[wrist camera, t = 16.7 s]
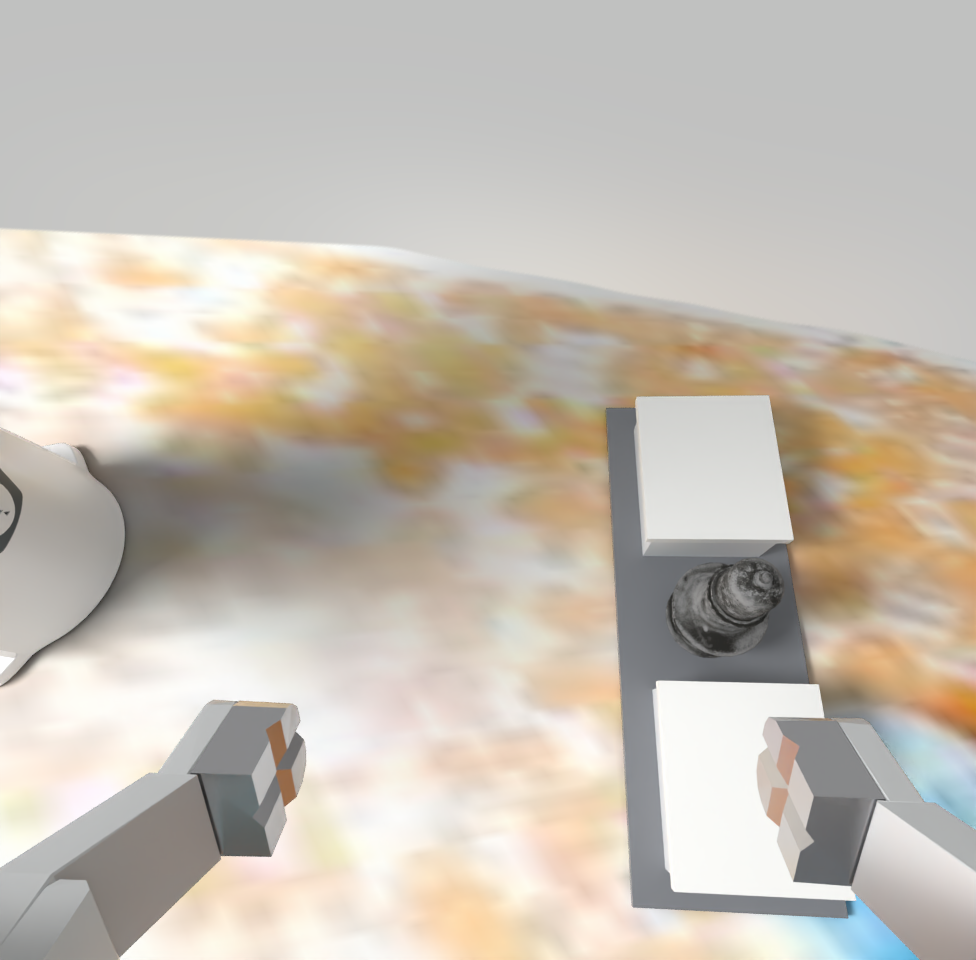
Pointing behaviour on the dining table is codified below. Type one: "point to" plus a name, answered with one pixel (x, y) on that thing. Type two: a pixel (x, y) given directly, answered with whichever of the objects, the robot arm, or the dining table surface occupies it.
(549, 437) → the dining table surface
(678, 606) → the dark grey upright figurine
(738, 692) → the grey mounting plate
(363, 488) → the dining table surface
